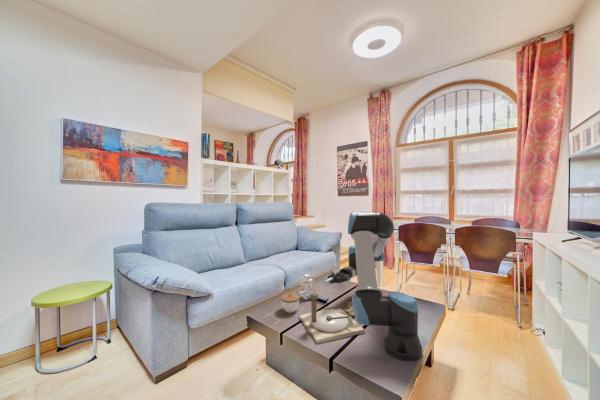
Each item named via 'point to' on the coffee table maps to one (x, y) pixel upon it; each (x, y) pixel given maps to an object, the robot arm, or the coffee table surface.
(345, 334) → the beige flat board
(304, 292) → the figurine
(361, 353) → the coffee table surface
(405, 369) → the coffee table surface
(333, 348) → the coffee table surface
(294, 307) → the lidded jar
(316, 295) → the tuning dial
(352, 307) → the cat figure
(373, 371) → the coffee table surface
